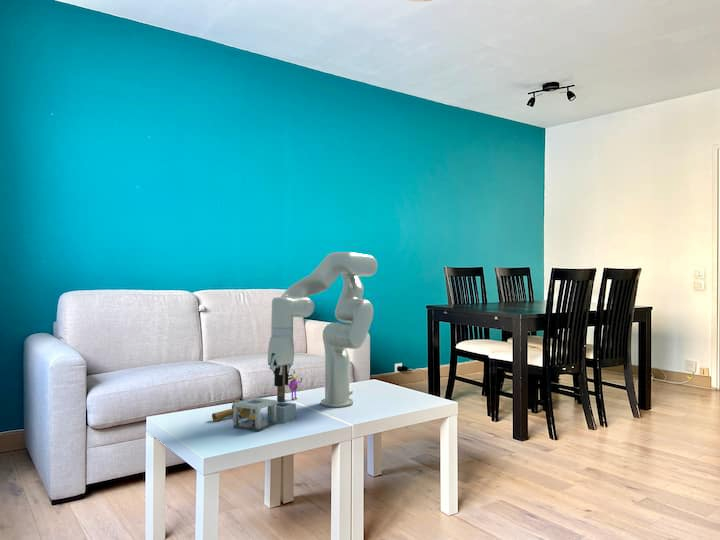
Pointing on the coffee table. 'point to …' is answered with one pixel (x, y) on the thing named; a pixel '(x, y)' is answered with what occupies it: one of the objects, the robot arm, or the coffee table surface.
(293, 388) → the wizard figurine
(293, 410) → the stylus holder
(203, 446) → the coffee table surface
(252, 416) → the button
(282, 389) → the stylus
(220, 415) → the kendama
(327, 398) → the robot arm
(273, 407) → the guard frame
